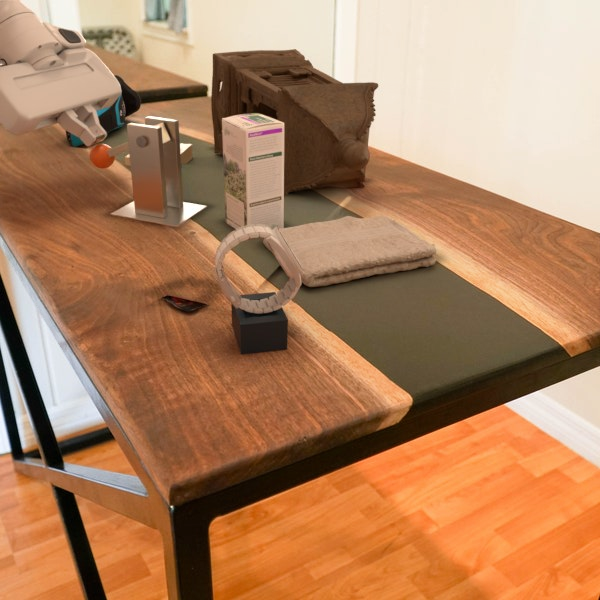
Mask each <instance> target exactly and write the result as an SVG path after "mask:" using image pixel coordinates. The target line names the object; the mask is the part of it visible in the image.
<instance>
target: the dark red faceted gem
mask: <svg viewBox="0 0 600 600" xmlns="http://www.w3.org/2000/svg"><path fill="white" fill-rule="evenodd" d="M160 299H162V300H164V301H166V302H167V303H170V304H172V305H173V306H171V307H172V308H175V307H176V308H177V309H180V310H181V311H184V312H187V313H188V312H192V311H195V310H198V309H200V308H202V307H205V306H207V305H208V303H205V302H200V301H196V300H191V299H187V298H182V297H177V296H174V295H170V294H169V295H168V294H167V295H165V296H162V297H160V298H158V299H157V301H158V300H160Z"/></svg>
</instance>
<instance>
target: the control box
mask: <svg viewBox="0 0 600 600" xmlns="http://www.w3.org/2000/svg"><path fill="white" fill-rule="evenodd" d="M193 149H194V148H193V143H183V142H182V143H181V142H180V156H181V164H184V165H187V164H189V162H190V161H192V160H193V158H194V152H193V151H194V150H193ZM124 164H125V166H126V167H131V165H130V155H129V153H128V154H127V155H126V156H124Z"/></svg>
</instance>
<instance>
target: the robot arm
mask: <svg viewBox="0 0 600 600" xmlns="http://www.w3.org/2000/svg"><path fill="white" fill-rule="evenodd" d="M86 44H87V41H86V39H85V38H84V36H83V35H82V34H81V33H80V32H79V31H76V30H72V29H68V28H64V27H59V26H56V25H53V24H52V23H49V22H46V21H42V20H41V19H40V18H39V17H38V15H37V14H36V13H35V12H34V11H32V10H31V9H30V8H29V7H27V6H26V5H25V4H24V3H22V1H21V0H0V124H1V126H2V127H3V128H4V129H5V131H6V132H9V133H11V134H13V135H15V136H17V137H19V136H21V135H26V134H28V133H31V132H34V131H38V130H42V129H45V128H47V127H51V126H53V125H56V124H58V125H59V126H60V127H61V128H62V129H63V130H64V131H65V132H66V131H68V132H70V133H71V134H73V135H75V136H77V137H79V138H80V139H81V140H82V141H83V143H84V144H83V145H85V146H86V147H91V146H94V145H97V144H99V143H101V142H103V141H104V140H105V139H106V138H107V137H108V133H106V131H105V130H104V129H103V128H102V126H101V125H100V123H99V119H98V116H97V112H96V111H98V110H101V109H104V108H108V107H110V106H112V105H113V103H114V102H115V101H116V100H117V99H118V97H119V96H120V95H121V93H122V91H121V86H120V83H119V82H118V80H117V79H116V78H115V76H114V75H115V74H113V73H112V71H111V70H110V69H109V67H108V66H107V65H106V64H105V62H103V61H102V59H101V58H100V57H99V56H98V55H97V54H96V53H95V52H94V51H92V50H91V49H89V48H86V47H85V46H86ZM77 118H78V119H79V120H80V121H79V120H78V119H77ZM83 122H85V124H86V125H85V124H84V123H83Z"/></svg>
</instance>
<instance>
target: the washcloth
mask: <svg viewBox="0 0 600 600" xmlns="http://www.w3.org/2000/svg"><path fill="white" fill-rule="evenodd" d="M279 230H280V231H281V233H282V234H283V236H284V237H285V239H286V241H287V242H288V244H289V246H290V247H291V249H292V250H293V252H294V254H295V255H296V257H297V259H298V261H299V262H300V264H301V266H302V268H303V270H304V274H303V275H302V274H301V275H300V276H301V284H303V285H304V286H306V287H309V288H317V287H327V286H330V285H334V284H341V283H346V282H351V281H353V280H359V279H363V278H366V277H370V276H375V275H384V274H393V273H397V272H405V271H412V270H415V269H418V268H421V267H422V268H429V267H430V266H434V265H435V264H436V261H437V260H436V258H435V256H434V255H436V254H437V250H436V249H437V248H436V244H434V243H433V244H432V243H430V242H428V241H426V240H423V239H422V238H421V237H420V236H418V235H416V234H415V233H413V232H412V231H410V230H409V229H408V228H407V227H405V226H404V225H403V224H401V223H399V222H398V221H396V219H392V218H391V217H388V216H387V215H376V216H375V217H363V218H362V217H361V218H360V217H358V218H357V217H354V216H353V215H352V216H351V215H345V216H343V217H341V218H337V219H331V220H325V221H315V222H310V223H304V224H300V225H295V226H289V227H284V228H279ZM262 243H263V245H264V246H265V248H266V249H267V250H268V251H269V252H271V254H273V252H272V250H271V249H270V247H269V245H268V243H267V241H266V238H263V241H262Z"/></svg>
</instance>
